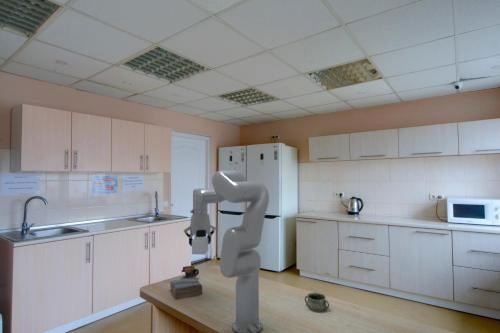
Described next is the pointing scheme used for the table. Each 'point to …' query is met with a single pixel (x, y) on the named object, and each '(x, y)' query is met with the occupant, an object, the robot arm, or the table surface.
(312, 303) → the vessel
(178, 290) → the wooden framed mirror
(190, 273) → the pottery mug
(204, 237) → the medicine bottle
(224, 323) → the table surface
